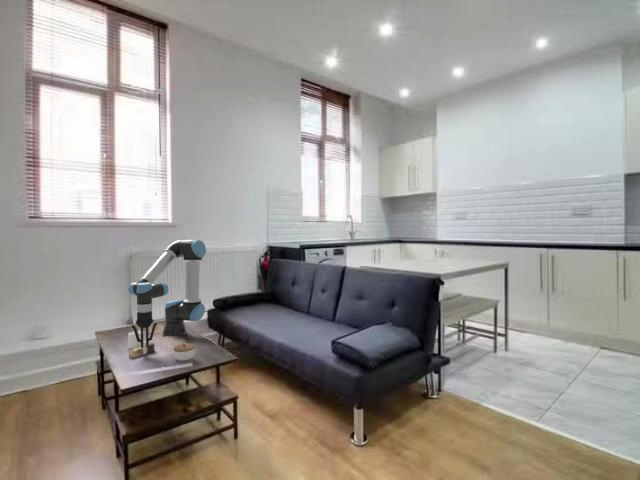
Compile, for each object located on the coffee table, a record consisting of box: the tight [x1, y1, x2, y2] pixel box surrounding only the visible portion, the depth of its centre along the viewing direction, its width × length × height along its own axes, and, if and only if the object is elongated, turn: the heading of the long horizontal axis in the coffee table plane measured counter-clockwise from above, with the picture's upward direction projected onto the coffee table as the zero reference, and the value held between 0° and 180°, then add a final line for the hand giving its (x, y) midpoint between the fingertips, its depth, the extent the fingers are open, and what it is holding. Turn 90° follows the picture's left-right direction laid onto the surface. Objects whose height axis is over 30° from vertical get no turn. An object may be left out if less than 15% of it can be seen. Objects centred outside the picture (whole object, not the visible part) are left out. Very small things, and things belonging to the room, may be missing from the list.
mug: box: [127, 330, 145, 350], centre depth 201 cm, size 8×12×10 cm
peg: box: [128, 342, 155, 359], centre depth 190 cm, size 14×5×4 cm, turn 148°
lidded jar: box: [173, 342, 196, 362], centre depth 186 cm, size 11×11×9 cm
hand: (144, 353), depth 189 cm, fingers closed
